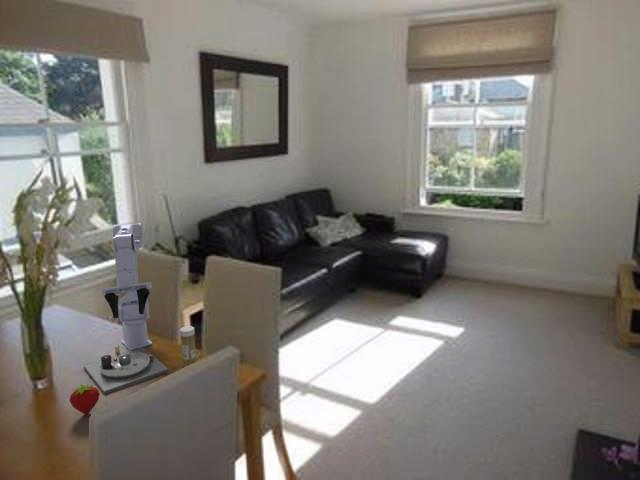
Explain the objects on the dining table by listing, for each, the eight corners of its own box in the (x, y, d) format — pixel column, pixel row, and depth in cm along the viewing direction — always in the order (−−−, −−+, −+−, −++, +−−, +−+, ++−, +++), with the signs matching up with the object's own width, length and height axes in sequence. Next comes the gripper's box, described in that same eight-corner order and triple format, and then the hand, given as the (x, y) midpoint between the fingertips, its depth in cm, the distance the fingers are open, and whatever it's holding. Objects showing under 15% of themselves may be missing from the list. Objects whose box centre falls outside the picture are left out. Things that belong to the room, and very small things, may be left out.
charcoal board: (84, 368, 161) (83, 365, 161) (144, 349, 174) (143, 347, 174) (104, 394, 147) (104, 391, 147) (168, 371, 159) (168, 368, 159)
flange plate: (137, 349, 171) (135, 336, 170) (162, 363, 162) (161, 349, 161) (91, 368, 159) (89, 354, 158) (116, 383, 150) (114, 369, 149)
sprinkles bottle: (198, 366, 163) (196, 329, 159) (185, 370, 160) (182, 332, 157) (194, 361, 166) (191, 324, 163) (180, 364, 164) (177, 327, 160)
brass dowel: (115, 357, 167) (114, 346, 166) (119, 355, 168) (118, 345, 167) (116, 358, 166) (115, 347, 165) (121, 357, 167) (119, 346, 166)
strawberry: (102, 416, 136) (98, 383, 134) (72, 423, 133) (67, 390, 131) (101, 405, 141) (97, 373, 139) (72, 411, 138) (67, 379, 136)
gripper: (96, 273, 148) (99, 318, 145) (145, 266, 149) (148, 310, 146) (106, 277, 155) (108, 320, 152) (152, 270, 156) (156, 313, 152)
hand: (128, 315), depth 149 cm, fingers open, 7 cm apart
